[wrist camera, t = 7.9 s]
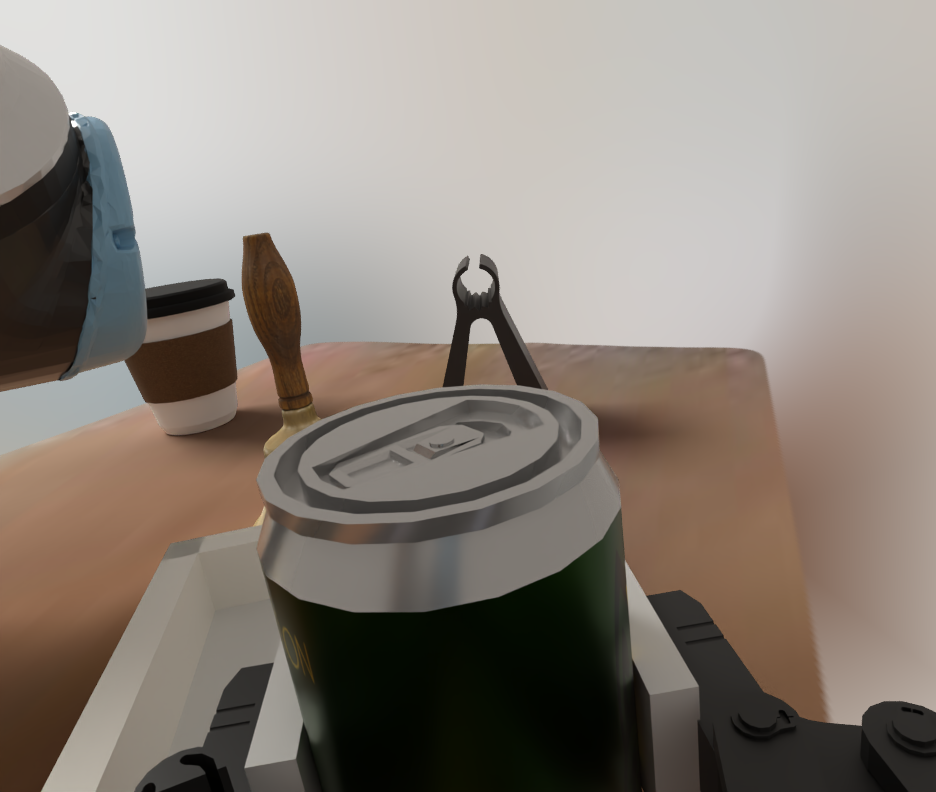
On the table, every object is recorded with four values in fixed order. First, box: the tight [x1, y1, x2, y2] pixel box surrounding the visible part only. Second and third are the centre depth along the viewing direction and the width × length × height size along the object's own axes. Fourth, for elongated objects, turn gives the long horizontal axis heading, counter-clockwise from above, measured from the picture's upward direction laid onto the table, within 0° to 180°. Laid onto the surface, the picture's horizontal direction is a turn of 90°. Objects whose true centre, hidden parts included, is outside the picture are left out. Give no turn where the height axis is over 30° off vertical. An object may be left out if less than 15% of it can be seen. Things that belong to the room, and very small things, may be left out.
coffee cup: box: [125, 279, 238, 435], centre depth 57 cm, size 11×11×12 cm
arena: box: [41, 525, 281, 792], centre depth 24 cm, size 16×14×4 cm
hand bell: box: [242, 233, 322, 527], centre depth 34 cm, size 8×8×16 cm
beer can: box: [256, 385, 642, 792], centre depth 11 cm, size 5×5×12 cm
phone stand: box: [443, 254, 548, 390], centre depth 46 cm, size 9×6×12 cm, turn 88°
